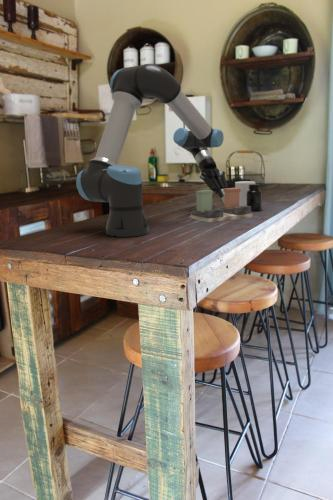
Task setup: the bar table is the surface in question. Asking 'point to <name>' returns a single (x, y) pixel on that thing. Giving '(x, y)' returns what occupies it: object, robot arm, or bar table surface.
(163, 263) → the bar table surface
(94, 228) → the bar table surface
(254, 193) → the supplement bottle
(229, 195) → the terracotta rectangular container
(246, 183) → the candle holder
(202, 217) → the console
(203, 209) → the green container
